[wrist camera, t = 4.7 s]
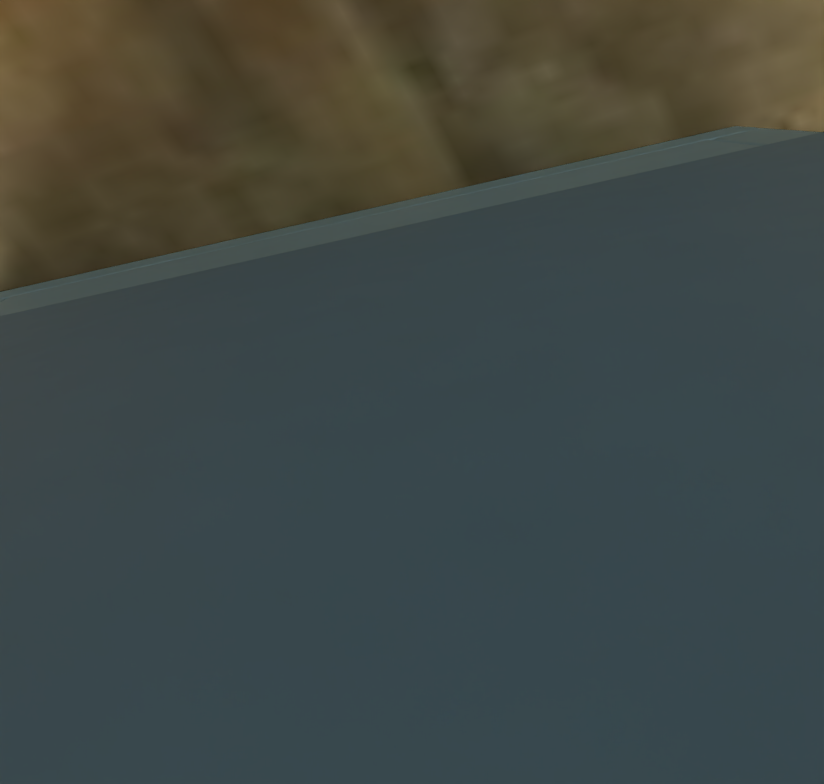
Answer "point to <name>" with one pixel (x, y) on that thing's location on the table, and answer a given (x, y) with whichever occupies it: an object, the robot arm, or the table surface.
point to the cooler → (393, 215)
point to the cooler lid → (434, 501)
